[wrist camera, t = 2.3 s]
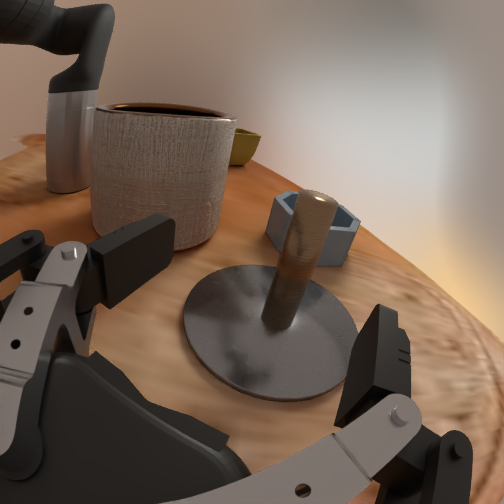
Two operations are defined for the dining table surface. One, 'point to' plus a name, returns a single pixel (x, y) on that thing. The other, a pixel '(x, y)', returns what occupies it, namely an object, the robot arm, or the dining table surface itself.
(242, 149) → the flower pot
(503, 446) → the dining table surface
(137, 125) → the planter
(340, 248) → the bowl
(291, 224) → the spindle on round base
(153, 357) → the dining table surface
